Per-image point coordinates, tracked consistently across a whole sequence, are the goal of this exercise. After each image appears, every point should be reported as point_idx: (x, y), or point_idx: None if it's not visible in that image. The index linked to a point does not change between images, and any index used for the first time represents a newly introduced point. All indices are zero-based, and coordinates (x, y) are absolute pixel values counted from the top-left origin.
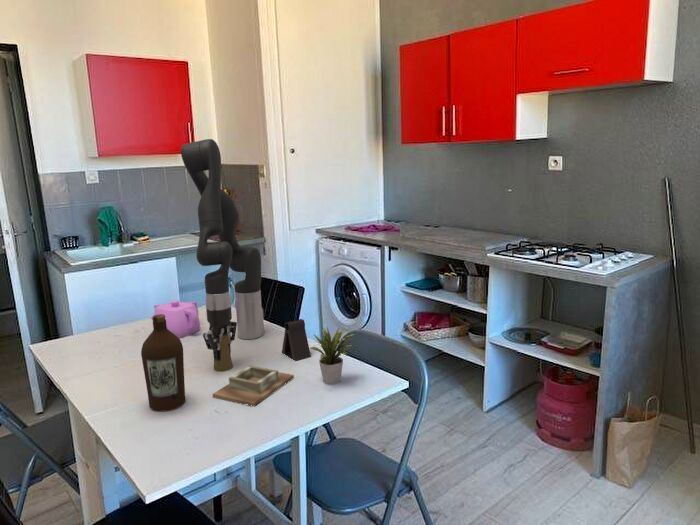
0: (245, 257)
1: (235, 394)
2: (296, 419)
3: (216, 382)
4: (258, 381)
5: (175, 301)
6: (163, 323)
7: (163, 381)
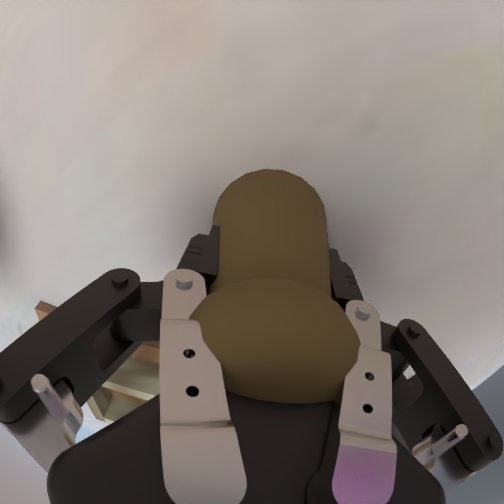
0: None
1: None
2: (94, 425)
3: (108, 270)
4: (106, 419)
5: None
6: None
7: None
